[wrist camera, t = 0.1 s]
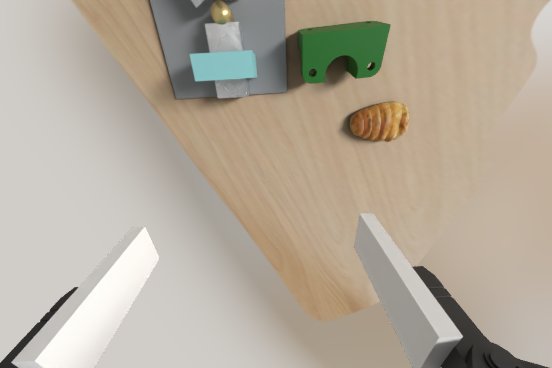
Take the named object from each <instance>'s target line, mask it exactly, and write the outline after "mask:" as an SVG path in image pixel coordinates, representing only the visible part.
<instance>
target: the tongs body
mask: <svg viewBox="0 0 552 368" xmlns="http://www.w3.org/2000/svg"><path fill="white" fill-rule="evenodd" d="M224 1H232V0H224ZM211 16H212V18H213V20H214V21H215V22H216V23H210V24H205V28H206V34H207V40H208V45H209V51H210V53H214V52H230V51H244V43H243V33H242V27H241V25H240V23H239V22H234V17H233V14H232V13H231V11H230V9H229V8H228V6H227V5H226V4H225V3H224V2H222V1H216V2H214V3H213V4H212V6H211ZM215 85H216V91H217V97H218V99H219V98H235V97H247V96H248V95H249V89H248V80H247V78H243V79H227V80H215Z"/></svg>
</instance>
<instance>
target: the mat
mask: <svg viewBox="0 0 552 368" xmlns="http://www.w3.org/2000/svg"><path fill="white" fill-rule="evenodd" d="M212 1H213V3H214V2H216V1H222V2H224V3H225V4H226V5H227V6H228V8H229V9H230V11H231V13H232V14H233V17H234V22H239V23H240V25H241V27H242V33H243V43H244V51H246V50H252V51H253V53H254V54H255V57H256V68H257V77H256V78H247V80H248V89H249V95H250V94H266V93H283V92H287V74H286V36H285V0H232V1H224V0H212ZM150 3H151V6H152V10H153V14H154V18H155V21H156V25H157V29H158V33H159V36H160V40H161V44H162V48H163V51H164V55H165V59H166V63H167V66H168V70H169V74H170V78H171V82H172V85H173V89H174V93H175V97H176V99H185V98H201V97H217V91H216V85H215V80H211V81H195V78H194V73H193V68H192V64H191V59H190V54H198V53H210V51H209V45H208V40H207V34H206V28H205V24H210V23H216V22H215V21H214V20H213V18H212V16H211V9H210V10H209V11H208V12H207V13H206V14H205V15H204V14H202V13H201V12H200V11H199V10H198V9H197V8H196V7H195V5H194V4H193V2H192V1H191V0H150Z"/></svg>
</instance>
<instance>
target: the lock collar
mask: <svg viewBox="0 0 552 368" xmlns="http://www.w3.org/2000/svg"><path fill="white" fill-rule="evenodd" d="M190 59H191V64H192V68H193V73H194V78H195V81H211V80H227V79H243V78H256V77H257V68H256V57H255V54H254V53H253V51H252V50H246V51H230V52H214V53H198V54H190Z"/></svg>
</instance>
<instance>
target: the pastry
mask: <svg viewBox="0 0 552 368" xmlns="http://www.w3.org/2000/svg"><path fill="white" fill-rule="evenodd" d="M408 123H409V112H408V109H407V107H406V105H404V104H400V103H397V102H394V101H391V102H386V103H380V104H377V105H374V106H370V107H368V108H365V109H362V110H359V111H358V112H356V113H355V114H353V116H352V117H351V119H350V129H351V131H352V133H353V134H354V135H355V136H359V137H361V138H363V139H369V140H372V141H374V142H375V141H382V140H384V141H386V142H389V141H391V140H395V139H397V138H399V137H400V136H402V135H403V134H404V133H405V132H406V129H407V127H408Z"/></svg>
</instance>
